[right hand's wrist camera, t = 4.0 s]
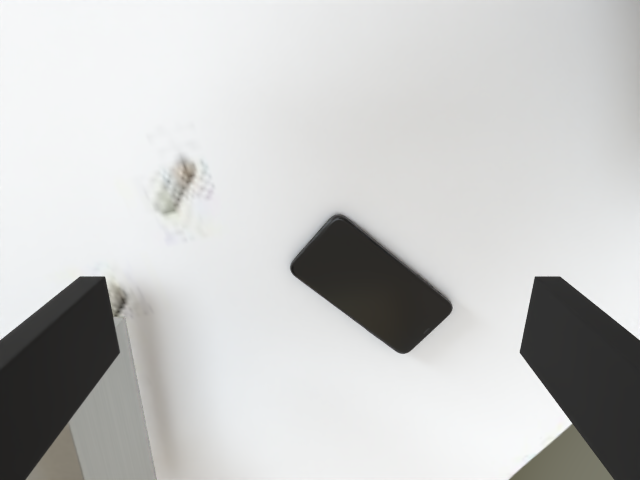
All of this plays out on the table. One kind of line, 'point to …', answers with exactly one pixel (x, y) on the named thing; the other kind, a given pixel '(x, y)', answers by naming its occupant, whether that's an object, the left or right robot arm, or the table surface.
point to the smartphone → (370, 285)
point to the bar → (104, 429)
